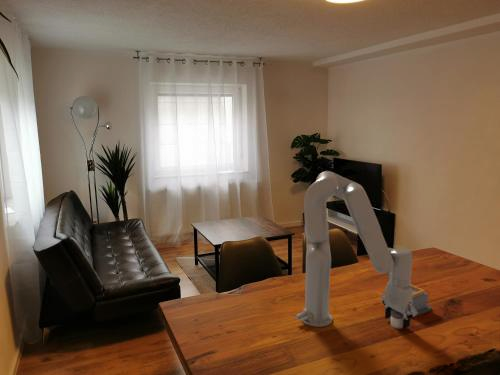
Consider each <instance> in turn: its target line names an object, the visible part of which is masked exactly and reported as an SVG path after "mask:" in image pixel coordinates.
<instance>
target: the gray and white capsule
mask: <svg viewBox="0 0 500 375" xmlns="http://www.w3.org/2000/svg"><path fill="white" fill-rule="evenodd" d="M404 318H405V317H404V315H403V313H400V312H398V311H396V310H394V309H391V317H390V323H389V324H390V326H391V327H392V328H393V329H404V328H403V319H404Z"/></svg>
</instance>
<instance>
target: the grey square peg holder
mask: <svg viewBox="0 0 500 375" xmlns="http://www.w3.org/2000/svg"><path fill="white" fill-rule="evenodd" d="M410 286H411V288H412V305H413V307H414V308H415V309H416V311H417V312H418V314H416V315H415V316H414V317H418V316H420V315H422V314H425V313H426V312H427V313H428V312H429V311H432V310H433V307H432V306H430V305H428V299H429V293H427V292H425V290H424V289H422V288H421V287H418V286H415V285H413V284H412V283H410ZM410 312H411V311H410ZM406 313H407V312H406ZM411 313H412V312H411ZM407 316H408V314H407ZM414 317H412V318H414ZM412 318H411V319H412Z"/></svg>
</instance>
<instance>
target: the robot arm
mask: <svg viewBox="0 0 500 375" xmlns="http://www.w3.org/2000/svg"><path fill="white" fill-rule="evenodd" d="M332 197H336V198H339V199H340V200H343V201H344V203H345V206H346V207H347V210H348V213H349V214H350V217H351V219H352V222H353V224H354V227H355V229H356V232H357V234H358V236H359V237H360V239H361V241H362V243H363V245H364V248H365V250H366V252H367V255H368V258H369V259H370V262H371V264H372V267H373V269H374V270H375V271H376V272H377V273H379V274H381V275H387V277H388V278H389V280H388V281H387V283H386V287H385V289H384V294H380V299H381V302H382V304H383V308H384V309H385V312H384V315H385V316H384V318H385V319H386V320H387V319H389V318H390V319H391V309H394V310H396V311H398V312H400V313H403V315H404V319H403V328H402V329H404V330H405V329H407V328H409V327H410V325H411V319H412V317H413V318H414V316H415V315H416V314H418V312H417V311H416V309H415V308H414V307H413V305H412V288H411V286H410V284H411V281H412V280H411V279H412V278H411V277H412V269H413V268H412V266H413V253H412V252H411V251H410V250H409V249H406V248H393V247H388V244H387V241H386V240H385V237H384V235H383V231H382V228H381V225H380V223H379V220H378V217H377V216H376V213H375V211H374V208H373V206H372V204H371V201H370V199H369V197H368V195H367V192H366V191H365V189H364V187H363V186H362V184H359V183H357V182H355V181H353V180H350V178H349V179H348V178H346V177H343V176H342V175H339V174H337V173H336V172H333V171H329V170H325V171H322V172H321V173H318V176H317V177H316V180H315V181H314V182H313V183H312V184H311V185H309V187H308V188H307V190H306V191H305V194H304V197H303V210H304V211H303V216H304V229H303V230H304V233H305V242H306V244H305V245H306V255H305V290H304V291H305V295H304V296H305V297H304V298H305V300H304V305H305V306H304V308H303V309H302V312H300V313H297V314H295V316H294V317H295V319H296V320H297V321H299V320H301V321H302V322H303V323H304V324H305V325H308V326H309V327H314V328H315V327H316V328H323V327H327V326H330V325H331V324H332V322H333V316H332V313H329V311H330V289H331V288H330V287H331V286H330V280H331V269H332V268H331V267H332V255H331V246H330V235H329V232H330V231H329V229H330V227H329V221H328V218H327V202H328V201H329V199H330V198H332ZM410 311H411V312H412V313H411V312H410ZM406 312H407V313H406ZM407 314H408V316H407ZM415 317H416V316H415Z"/></svg>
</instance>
